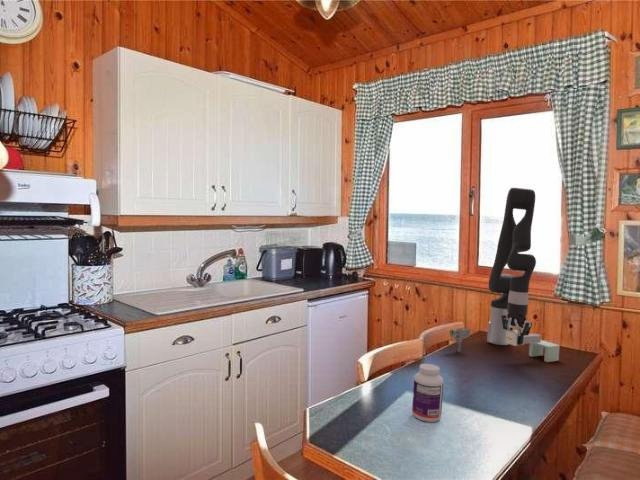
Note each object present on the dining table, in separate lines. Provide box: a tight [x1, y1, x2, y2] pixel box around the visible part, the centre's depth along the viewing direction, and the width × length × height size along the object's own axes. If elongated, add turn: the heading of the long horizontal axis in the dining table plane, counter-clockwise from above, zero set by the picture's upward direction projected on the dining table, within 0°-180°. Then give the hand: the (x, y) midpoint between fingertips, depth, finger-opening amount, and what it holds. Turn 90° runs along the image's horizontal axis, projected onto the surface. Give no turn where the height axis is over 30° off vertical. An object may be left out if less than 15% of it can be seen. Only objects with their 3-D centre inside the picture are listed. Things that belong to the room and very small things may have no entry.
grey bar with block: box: [506, 329, 542, 347], centre depth 183 cm, size 17×4×5 cm, turn 113°
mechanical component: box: [449, 327, 471, 353], centre depth 192 cm, size 3×10×10 cm, turn 115°
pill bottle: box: [411, 363, 444, 423], centre depth 124 cm, size 8×8×14 cm
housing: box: [528, 339, 560, 363], centre depth 189 cm, size 7×9×6 cm
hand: (514, 342), depth 182 cm, fingers closed on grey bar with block, 4 cm apart
